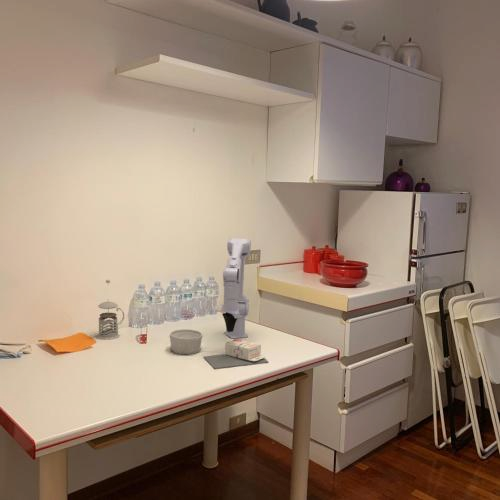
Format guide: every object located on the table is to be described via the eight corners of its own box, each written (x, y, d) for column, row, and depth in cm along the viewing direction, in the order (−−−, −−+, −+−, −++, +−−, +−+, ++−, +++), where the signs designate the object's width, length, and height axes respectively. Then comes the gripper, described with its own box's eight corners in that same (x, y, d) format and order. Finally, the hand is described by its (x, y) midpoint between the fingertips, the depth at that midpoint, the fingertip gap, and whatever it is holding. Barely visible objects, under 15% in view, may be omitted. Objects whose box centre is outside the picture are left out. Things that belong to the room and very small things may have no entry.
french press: (94, 334, 221) (94, 278, 218) (121, 331, 226) (121, 276, 223) (98, 340, 212) (97, 282, 209) (126, 338, 217) (126, 281, 214)
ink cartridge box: (237, 338, 206) (267, 345, 197) (237, 350, 207) (267, 357, 198) (224, 342, 199) (255, 350, 191) (224, 354, 200) (254, 362, 191)
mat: (203, 357, 197) (203, 356, 197) (254, 351, 206) (254, 350, 206) (214, 369, 185) (214, 368, 185) (268, 362, 194) (268, 361, 194)
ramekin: (204, 346, 211) (205, 330, 210) (198, 356, 198) (199, 339, 197) (173, 344, 212) (174, 328, 211) (165, 354, 199) (165, 337, 198)
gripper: (215, 294, 204) (214, 327, 205) (228, 302, 190) (227, 337, 192) (231, 293, 206) (230, 325, 208) (245, 301, 193) (244, 336, 195)
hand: (230, 331), depth 200 cm, fingers closed
